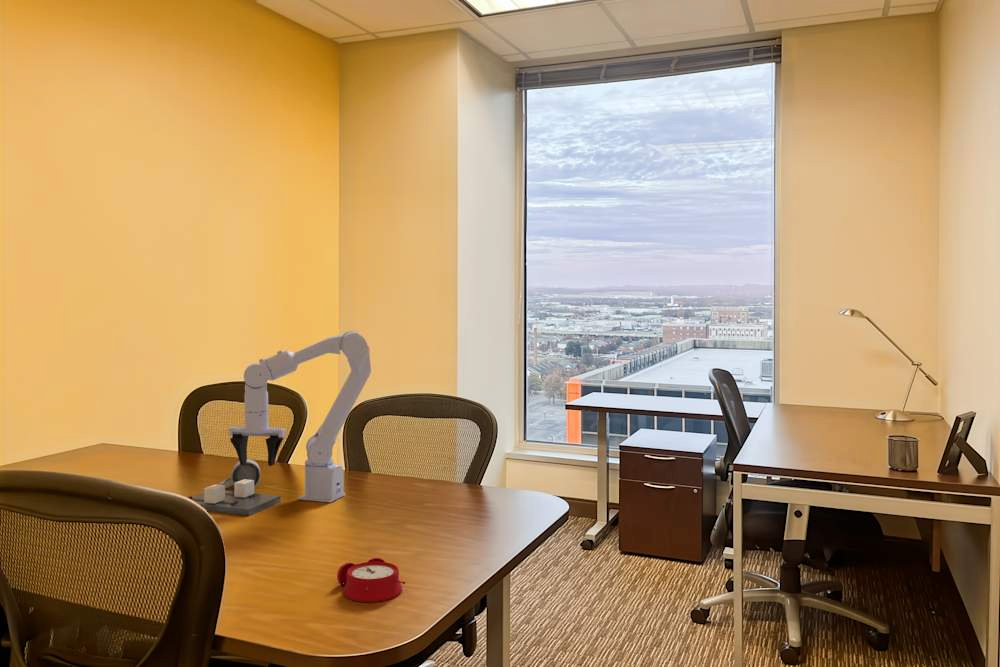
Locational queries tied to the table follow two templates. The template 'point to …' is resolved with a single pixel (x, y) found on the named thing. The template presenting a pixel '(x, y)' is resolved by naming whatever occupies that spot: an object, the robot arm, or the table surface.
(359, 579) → the alarm clock
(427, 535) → the table surface
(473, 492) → the table surface
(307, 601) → the table surface
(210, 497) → the block
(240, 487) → the fader
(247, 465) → the ceramic mug
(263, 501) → the console
